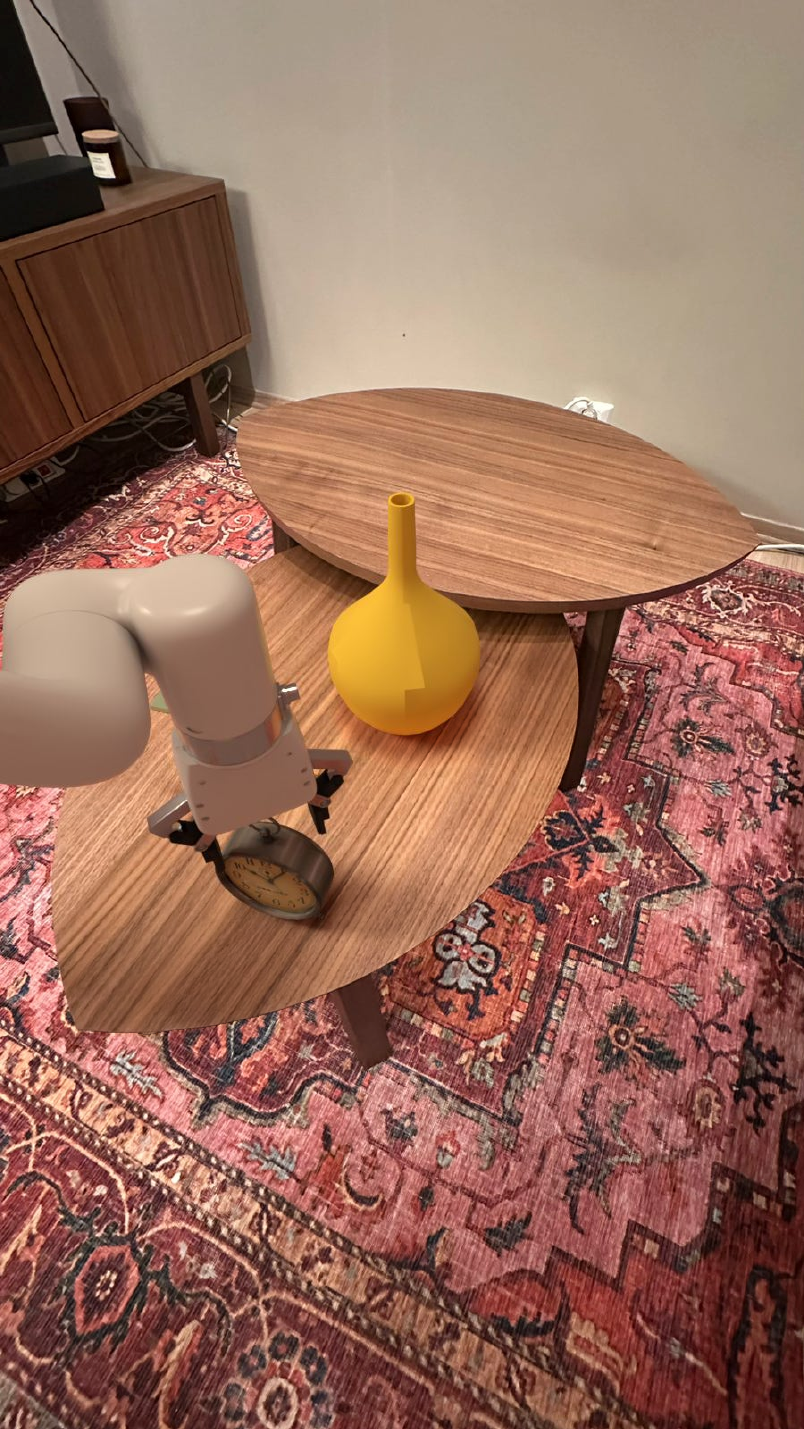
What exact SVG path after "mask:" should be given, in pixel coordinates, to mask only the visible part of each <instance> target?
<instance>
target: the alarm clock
mask: <svg viewBox="0 0 804 1429" xmlns="http://www.w3.org/2000/svg"><path fill="white" fill-rule="evenodd" d="M266 820H268V821H264V820H262V821H259V822H256V823H253V824H250V825H248V826H245V827H242V828H239V829H236V830H233V831H232V833H231V835H230V837H229V838H228V840H227V842H226V843H225V845H224V847H223V849H222V850H221V853H222V856H223V860H224V863H225V867H226V869H224V871H223V872H221V873H218V871H217V869H216V867H215V866H214V871H215V875H216V877H217V879H218V881H219V883H220V884H221V885H222V886H223V888H224V889H225V890H227V891H228V892H229V893H230V894H231V895H232V896H233V897H235V898H236V899H237V900H238V901H240V902H241V903H243V904H245V905H246V906H248V907H250V908H252V909H254V910H256V911H257V912H260V913H263V914H265V915H268V916H271V917H274V918H278V919H283V920H288V921H306V920H310V919H314V918H315V917H317V918H318V920H319V921H322V922H323V921H324V920H325V919H326V917H325V915H324V913H321V912H322V909H323V906H324V903H325V901H326V899H327V896H328V894H329V892H330V890H331V887H332V884H333V882H334V879H335V868H334V865H333V862H332V860H331V858H330V856H329V855H328V854H327V852H326V851H325V850H324V848H322V847H321V845H320V844H318V843H317V842H316V841H315V840H314V839H312V838H311V837H309V836H308V835H307V834H305V833H303V832H301V831H299V830H297V829H294V828H292V827H290V826H288V825H285V824H281V823H279V822H278V821H277V820H276V818H274V817H270V818H267V819H266Z"/></svg>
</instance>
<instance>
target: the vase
mask: <svg viewBox="0 0 804 1429" xmlns="http://www.w3.org/2000/svg"><path fill="white" fill-rule="evenodd" d="M416 523H417V522H416V499H415V497H414V495H412V494H411V493H408V492H395V493H392V494H391V495H390V496H388V498H387V557H388V559H387V560H388V570H387V574H386V577H385V578H384V580H383V582H382V583H380V584H379V585H378V586H376V587H375V588H374V589H373V590H372V591H371V592H368V594H365V595H364V596H363V597H361V598H359V599H358V600H356V601H355V602H353V603H352V604H350V606H348V607H347V608H345V609H344V610H343V611H342V612H341V613H340V614H339V616H338V617H337V618H336V620H335V622H334V623H333V625H332V628H331V632H330V636H329V640H328V646H327V660H328V669H329V676H330V679H331V681H332V683H333V685H334V687H335V689H336V691H337V693H338V695H339V696H340V697H341V699H342V701H343V702H344V703H345V705H346V706H347V708H348V709H349V710H350V711H351V712H352V713H353V714H354V715H355V716H356V717H357V718H358V719H359V720H360V721H363V722H364V723H366V724H367V725H369V726H370V727H372V728H374V729H376V730H378V731H380V732H384V733H387V734H390V735H398V736H411V735H419V734H423V733H426V732H429V731H432V730H434V729H435V728H437V727H439V726H440V725H441V724H443V723H445V722H446V721H448V720H449V719H451V718H452V717H453V716H454V715H455V714H456V713H457V712H458V711H459V710H460V708H462V706H463V705H464V704H465V702H466V700H467V698H468V697H469V695H470V693H471V691H473V688H474V686H475V684H476V682H477V679H478V677H479V673H480V666H481V656H482V655H481V654H482V648H481V642H480V639H479V634H478V630H477V627H476V624H475V622H474V620H473V619H472V617H471V616H470V615H469V613H468V612H467V611H466V609H464V608H463V607H462V606H460V605H459V604H458V603H456V602H455V601H454V600H452V599H450V598H448V597H446V596H445V595H443V594H441V593H439V592H438V591H436V590H435V589H433V587H430V585H428V584H427V583H426V582H424V581H423V580H422V578H421V577H420V575H419V572H418V569H417V526H416Z"/></svg>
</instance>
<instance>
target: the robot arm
mask: <svg viewBox="0 0 804 1429" xmlns="http://www.w3.org/2000/svg"><path fill="white" fill-rule="evenodd" d="M270 654H271V653H270V650H269V646H268V642H267V638H266V633H265V629H264V624H263V619H262V614H261V611H260V606H259V601H258V598H257V595H256V590H255V588H254V584H253V583H252V580H251V578H250V577H249V576H248V574H247V572H245V570H244V569H243V568H242V567H241V566H239V564H237V563H235V562H234V561H232V560H230V559H229V558H226V557H223V556H220V555H216V554H211V553H198V552H197V553H187V554H180V555H176V556H173V557H170V558H167V559H165V560H163V561H160V562H159V563H157V564H155V565H152V566H144V567H123V568H121V567H119V568H117V567H115V568H69V569H58V570H52V571H51V570H50V571H47V572H42V573H40V574H37V575H34V576H31V577H29V578H27V579H26V580H24V581H22V582H20V583H19V584H18V585H17V586H16V587H15V588H14V589H13V591H12V592H11V593H10V595H9V597H8V598H7V600H6V602H5V606H4V610H3V616H2V653H1V669H0V785H6V786H18V787H29V788H43V789H44V788H46V789H64V788H66V789H67V788H81V787H88V786H93V785H97V784H100V783H101V784H102V783H104V782H107V781H110V780H112V779H114V778H116V777H118V776H120V775H122V774H124V773H125V772H126V771H128V770H129V769H131V767H133V766H134V765H135V764H136V763H137V762H138V760H140V758H141V757H142V755H144V752H145V749H146V748H147V746H148V743H149V740H150V737H151V730H152V715H151V708H150V700H149V692H148V686H147V680H146V675H148V676H151V677H152V678H153V679H154V681H155V682H156V684H157V686H158V689H159V691H161V694H162V696H163V698H164V701H165V703H166V705H167V708H168V710H169V713H168V714H169V715H170V718H171V720H172V722H173V725H174V727H173V729H172V732H171V735H170V736H171V737H170V739H171V742H170V743H171V749H172V756H173V761H174V764H175V768H176V772H177V776H178V777H179V781H180V784H181V787H182V791H180V792H178V793H177V794H176V795H174V796H173V797H172V798H171V799H169V800H168V801H167V802H166V803H164V804H163V805H162V806H160V807H159V808H157V809H156V810H155V811H154V812H152V813H151V814H150V815H149V816H147V817H146V821H147V822H146V823H147V826H148V831H149V833H150V834H152V835H154V836H156V837H160V838H161V839H164V840H165V839H168V840H169V842H170V843H171V844H173V845H180V846H188V847H189V846H190V847H193V850H194V851H195V852H197V853H201V856H202V858H203V860H204V862H205V864H208V863H211V862H212V863H213V865H214V868H215V867H216V869H217V871H218V873H221V872H223V871H224V869H226V867H225V863H224V860H223V856H222V850H221V845H220V843H219V840H218V838H217V836H218V835H222V834H226V833H230V832H234V831H235V830H236V829H239V828H242V827H245V826H248V825H250V824H253V823H256V822H259V821H264V820H268V819H267V818H270V817H272V818H274V817H276V816H279V815H282V814H284V813H286V812H289V811H292V810H296V809H297V808H300V807H302V806H304V805H306V804H307V808H308V811H309V814H310V817H311V820H312V821H313V824H314V826H315V829H316V832H317V834H318V835H321V836H323V835H327V828H326V822H325V821H327V820H330V819H331V816H330V810H329V806H330V805H331V804H332V796H333V795H334V794H335V793H336V792H337V791H338V790H339V789H340V788H341V787H342V785H343V784H344V783H345V779H344V778H345V776H347V774H348V773H349V771H350V769H351V767H352V765H353V764H354V760H353V758H352V756H351V754H350V752H349V750H348V749H339V748H338V749H334V748H308V747H307V744H306V741H305V738H304V735H303V733H302V730H301V727H300V725H299V721H298V719H297V716H296V715H295V712H294V711H293V709H292V707H291V705H292V703H293V702H296V701H299V700H301V695H300V691H299V688H298V686H297V684H296V682H292V683H289V684H286V683H281V684H280V683H279V681H276V676H275V673H274V667H273V664H272V659H271V655H270ZM314 770H323V771H322V772H321V773H320V775H318V774H316V773H315V771H314ZM190 812H191V817H190V818H189V820H185V819H183V818H184V817H185V816H186V815H188V814H189V813H190Z"/></svg>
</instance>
